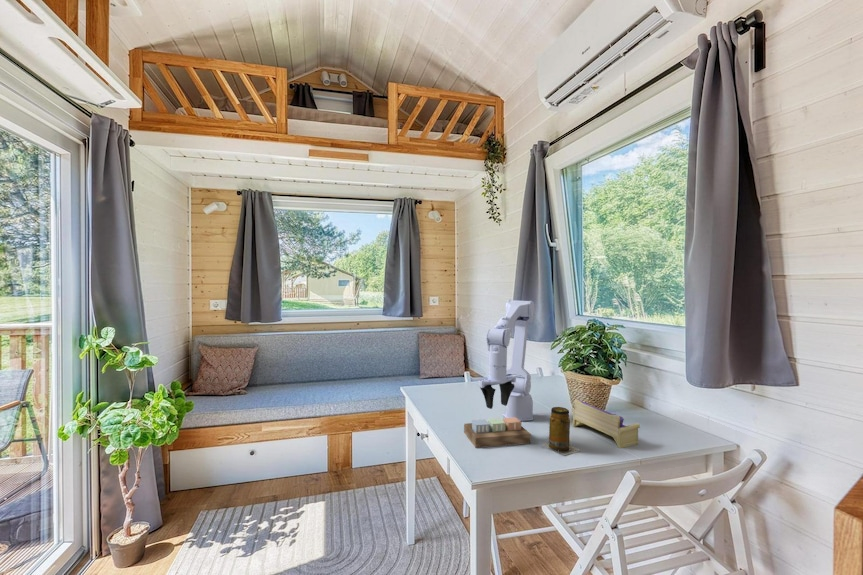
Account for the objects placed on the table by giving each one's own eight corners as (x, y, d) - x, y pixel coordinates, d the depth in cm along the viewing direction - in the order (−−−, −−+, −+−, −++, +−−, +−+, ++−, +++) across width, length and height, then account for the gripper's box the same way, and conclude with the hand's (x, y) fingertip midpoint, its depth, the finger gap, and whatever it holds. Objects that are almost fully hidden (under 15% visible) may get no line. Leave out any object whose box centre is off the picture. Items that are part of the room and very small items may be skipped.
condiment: (558, 440, 129) (558, 404, 129) (580, 450, 122) (581, 412, 122) (542, 445, 125) (543, 407, 125) (564, 456, 118) (565, 416, 118)
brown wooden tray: (514, 428, 139) (514, 420, 139) (530, 443, 127) (530, 433, 127) (463, 432, 135) (464, 423, 135) (475, 447, 123) (475, 438, 123)
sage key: (500, 428, 133) (500, 418, 133) (505, 433, 129) (505, 423, 129) (487, 429, 132) (487, 419, 132) (492, 434, 128) (492, 424, 128)
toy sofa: (640, 445, 127) (641, 413, 127) (621, 450, 124) (622, 417, 123) (588, 422, 146) (589, 395, 146) (570, 426, 142) (571, 398, 142)
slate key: (484, 429, 132) (484, 419, 132) (489, 434, 128) (489, 424, 128) (471, 430, 131) (472, 420, 131) (476, 435, 127) (476, 425, 127)
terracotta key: (515, 427, 135) (515, 417, 134) (521, 432, 130) (521, 422, 130) (503, 428, 134) (503, 418, 133) (508, 433, 129) (508, 423, 129)
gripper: (506, 360, 137) (505, 399, 138) (472, 364, 130) (471, 406, 130) (520, 364, 131) (519, 405, 132) (486, 369, 124) (485, 412, 124)
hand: (496, 406), depth 130 cm, fingers open, 6 cm apart
